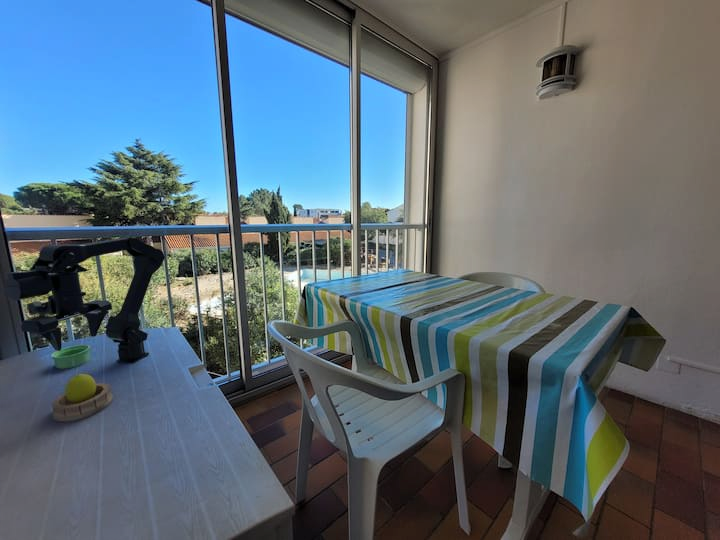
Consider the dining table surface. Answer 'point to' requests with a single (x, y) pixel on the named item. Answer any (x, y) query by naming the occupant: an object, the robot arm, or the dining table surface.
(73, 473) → the dining table surface
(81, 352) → the ramekin
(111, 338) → the robot arm
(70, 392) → the lemon
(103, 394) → the wooden bowl
